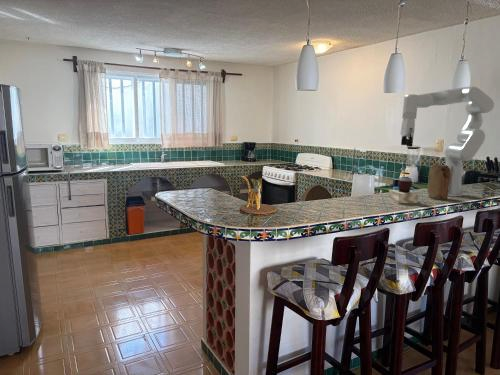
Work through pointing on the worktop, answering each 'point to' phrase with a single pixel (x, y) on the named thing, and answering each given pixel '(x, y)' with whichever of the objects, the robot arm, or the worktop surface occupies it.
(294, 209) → the worktop surface
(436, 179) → the block
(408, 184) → the mate gourd
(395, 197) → the maple block
